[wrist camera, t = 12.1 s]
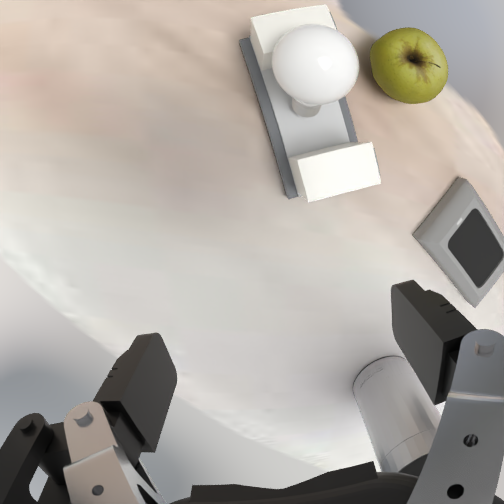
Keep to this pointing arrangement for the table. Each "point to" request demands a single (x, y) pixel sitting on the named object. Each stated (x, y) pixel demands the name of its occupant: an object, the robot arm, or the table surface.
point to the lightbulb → (314, 66)
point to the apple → (409, 65)
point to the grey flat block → (464, 241)
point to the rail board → (295, 120)
